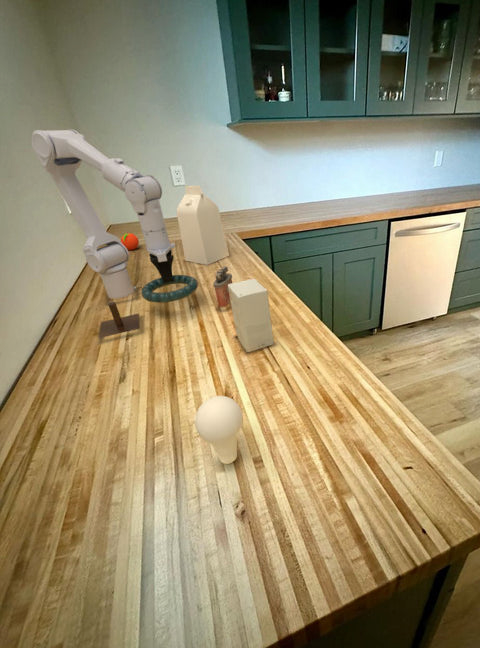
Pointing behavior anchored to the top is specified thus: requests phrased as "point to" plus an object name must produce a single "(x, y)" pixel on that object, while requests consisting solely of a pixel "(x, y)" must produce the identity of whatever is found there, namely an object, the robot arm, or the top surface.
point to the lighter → (222, 286)
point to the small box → (251, 314)
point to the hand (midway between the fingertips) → (167, 279)
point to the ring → (173, 295)
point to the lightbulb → (220, 425)
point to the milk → (201, 228)
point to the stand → (118, 323)
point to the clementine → (130, 241)
